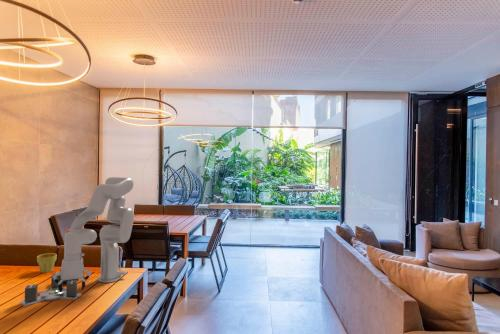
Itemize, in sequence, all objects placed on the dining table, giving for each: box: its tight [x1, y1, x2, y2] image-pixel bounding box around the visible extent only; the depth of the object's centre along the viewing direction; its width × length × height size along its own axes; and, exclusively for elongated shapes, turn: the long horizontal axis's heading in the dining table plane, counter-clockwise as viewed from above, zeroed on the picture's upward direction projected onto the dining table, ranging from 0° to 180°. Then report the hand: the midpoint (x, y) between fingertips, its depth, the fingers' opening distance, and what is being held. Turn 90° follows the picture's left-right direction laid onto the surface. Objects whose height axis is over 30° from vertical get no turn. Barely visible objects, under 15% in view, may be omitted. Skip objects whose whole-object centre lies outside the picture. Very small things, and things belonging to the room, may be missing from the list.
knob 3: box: [66, 280, 78, 297], centre depth 161 cm, size 5×4×7 cm
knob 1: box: [24, 284, 39, 302], centre depth 154 cm, size 5×4×7 cm
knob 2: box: [50, 271, 61, 289], centre depth 172 cm, size 5×4×7 cm
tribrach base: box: [20, 284, 83, 307], centre depth 164 cm, size 26×22×3 cm
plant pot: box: [36, 252, 58, 274], centre depth 199 cm, size 10×10×10 cm
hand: (72, 290), depth 161 cm, fingers open, 9 cm apart
